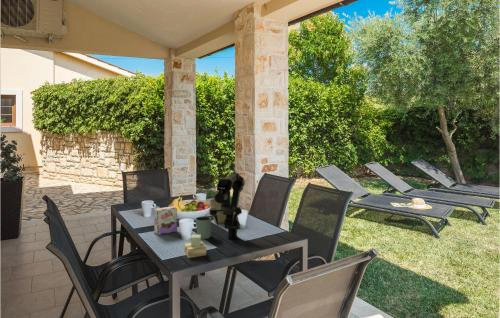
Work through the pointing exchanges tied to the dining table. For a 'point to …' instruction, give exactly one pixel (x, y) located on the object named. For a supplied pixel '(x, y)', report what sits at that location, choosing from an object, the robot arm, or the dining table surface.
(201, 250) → the oak block
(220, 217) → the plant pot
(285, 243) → the dining table surface
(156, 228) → the candy box
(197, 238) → the sage cube
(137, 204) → the dining table surface
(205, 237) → the grey green cup
